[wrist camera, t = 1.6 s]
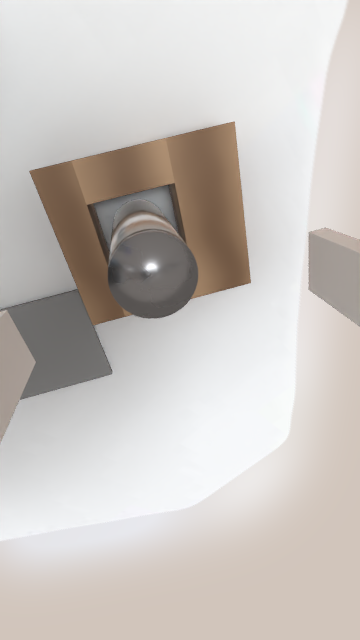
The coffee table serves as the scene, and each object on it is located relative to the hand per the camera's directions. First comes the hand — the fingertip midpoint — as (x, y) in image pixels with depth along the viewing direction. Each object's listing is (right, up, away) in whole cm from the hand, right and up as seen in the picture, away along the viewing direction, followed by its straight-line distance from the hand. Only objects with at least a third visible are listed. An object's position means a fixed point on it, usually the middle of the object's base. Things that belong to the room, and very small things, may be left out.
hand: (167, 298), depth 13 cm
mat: (-13, -4, +17) cm, 22 cm away
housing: (-2, +7, +13) cm, 15 cm away
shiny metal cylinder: (-3, +7, +13) cm, 15 cm away
